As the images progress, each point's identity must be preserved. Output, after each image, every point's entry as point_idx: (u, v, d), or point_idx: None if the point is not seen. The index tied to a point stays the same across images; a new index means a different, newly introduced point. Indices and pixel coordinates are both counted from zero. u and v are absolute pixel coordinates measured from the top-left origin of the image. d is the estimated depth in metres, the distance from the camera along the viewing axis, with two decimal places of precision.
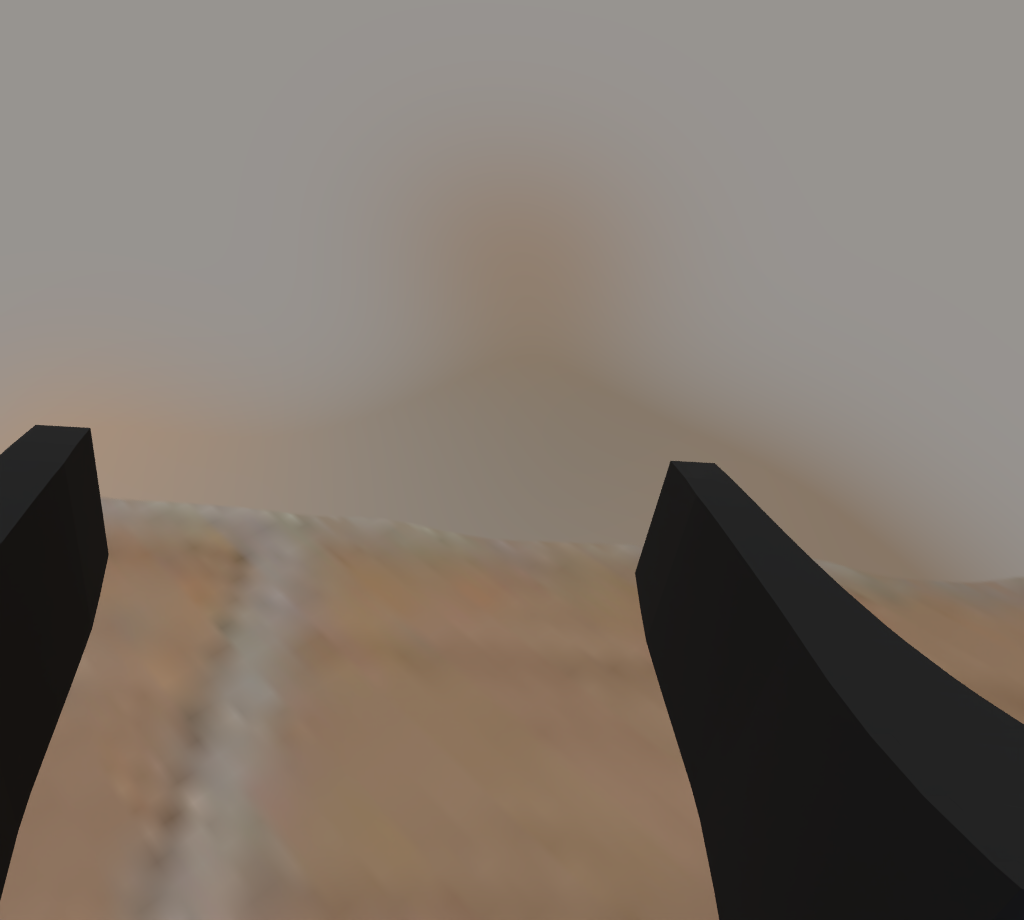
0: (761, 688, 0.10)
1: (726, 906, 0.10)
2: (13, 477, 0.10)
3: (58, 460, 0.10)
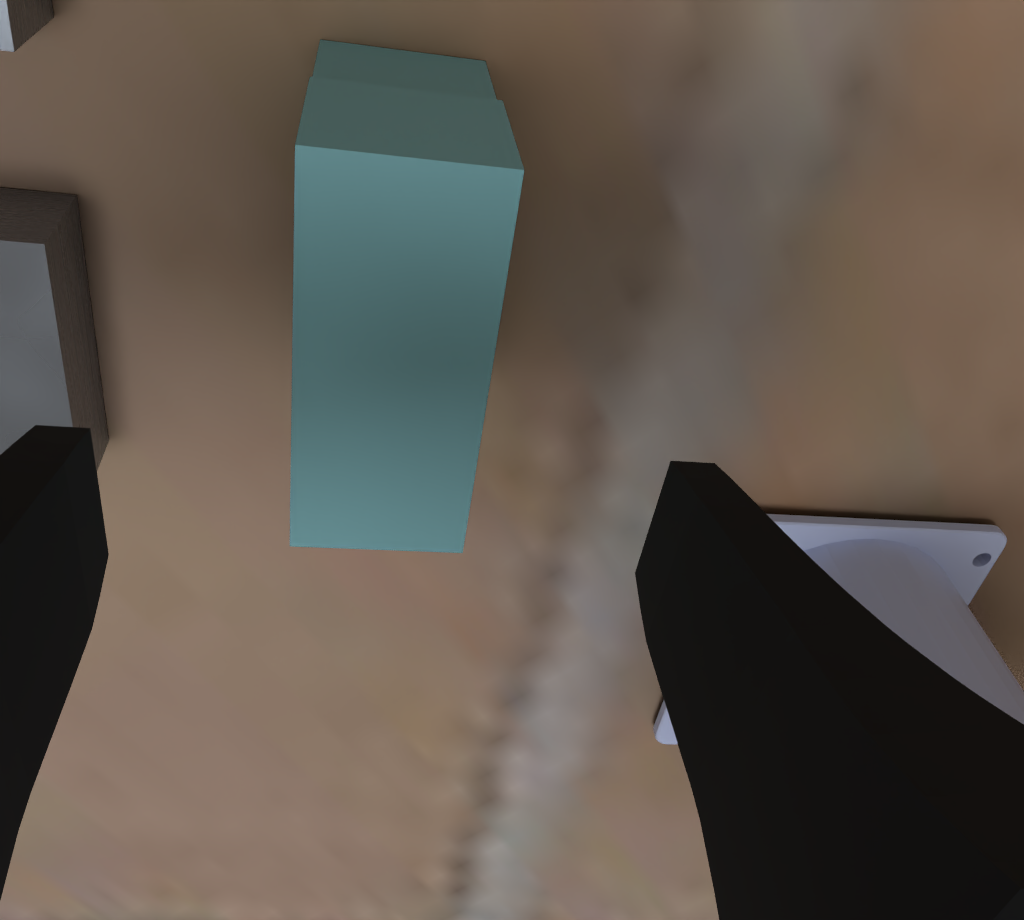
0: (761, 688, 0.10)
1: (726, 906, 0.10)
2: (13, 477, 0.10)
3: (58, 460, 0.10)
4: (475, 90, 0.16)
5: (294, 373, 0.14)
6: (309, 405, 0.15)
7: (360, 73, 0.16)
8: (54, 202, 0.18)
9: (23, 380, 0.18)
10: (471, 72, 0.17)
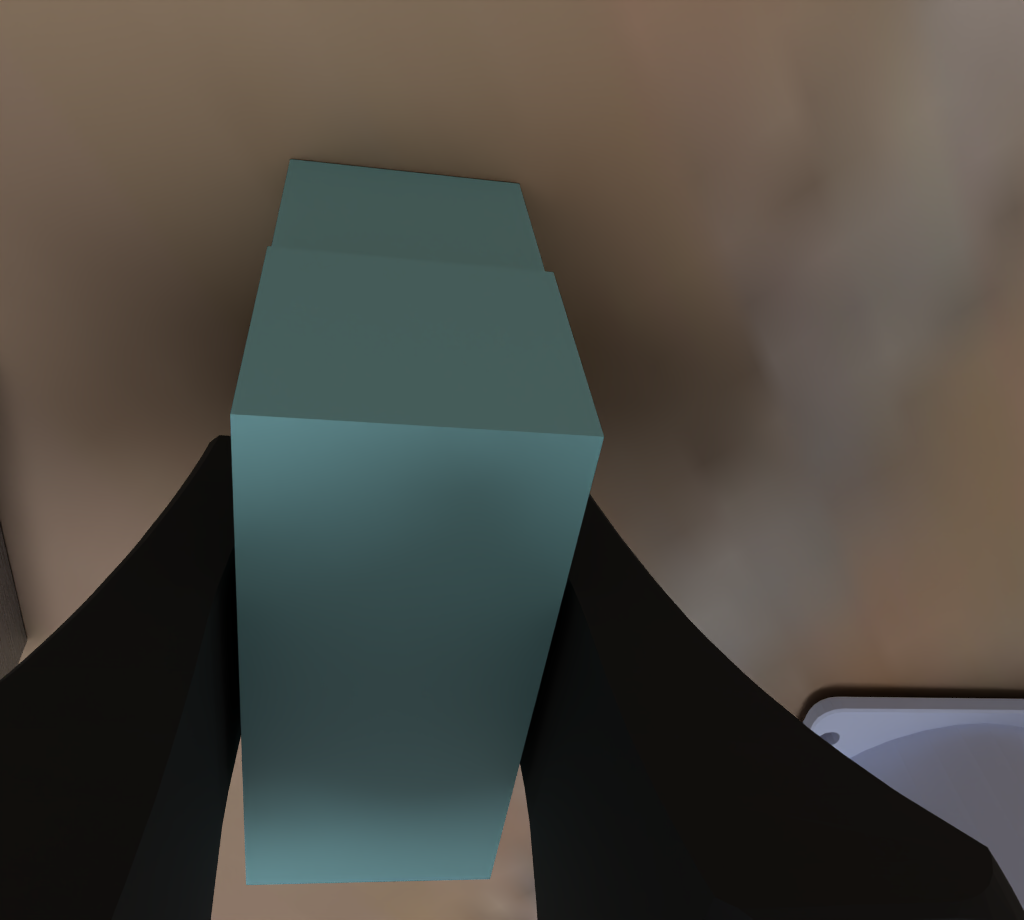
0: (567, 685, 0.09)
1: (542, 911, 0.10)
2: (220, 487, 0.10)
3: None
4: (510, 243, 0.11)
5: (243, 699, 0.09)
6: (267, 735, 0.10)
7: (345, 222, 0.11)
8: None
9: None
10: (502, 207, 0.12)
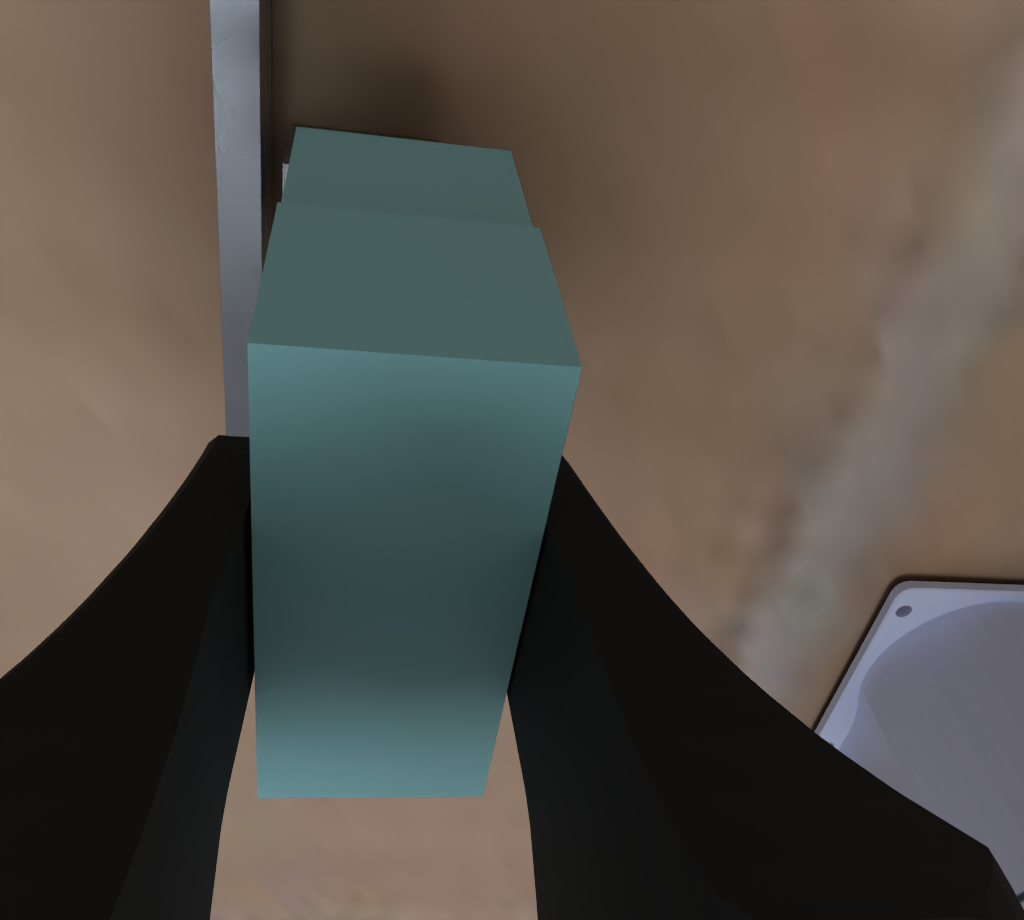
0: (567, 685, 0.09)
1: (542, 911, 0.10)
2: (219, 487, 0.10)
3: None
4: (501, 203, 0.12)
5: (257, 615, 0.10)
6: (279, 650, 0.11)
7: (348, 183, 0.12)
8: None
9: None
10: (494, 171, 0.13)
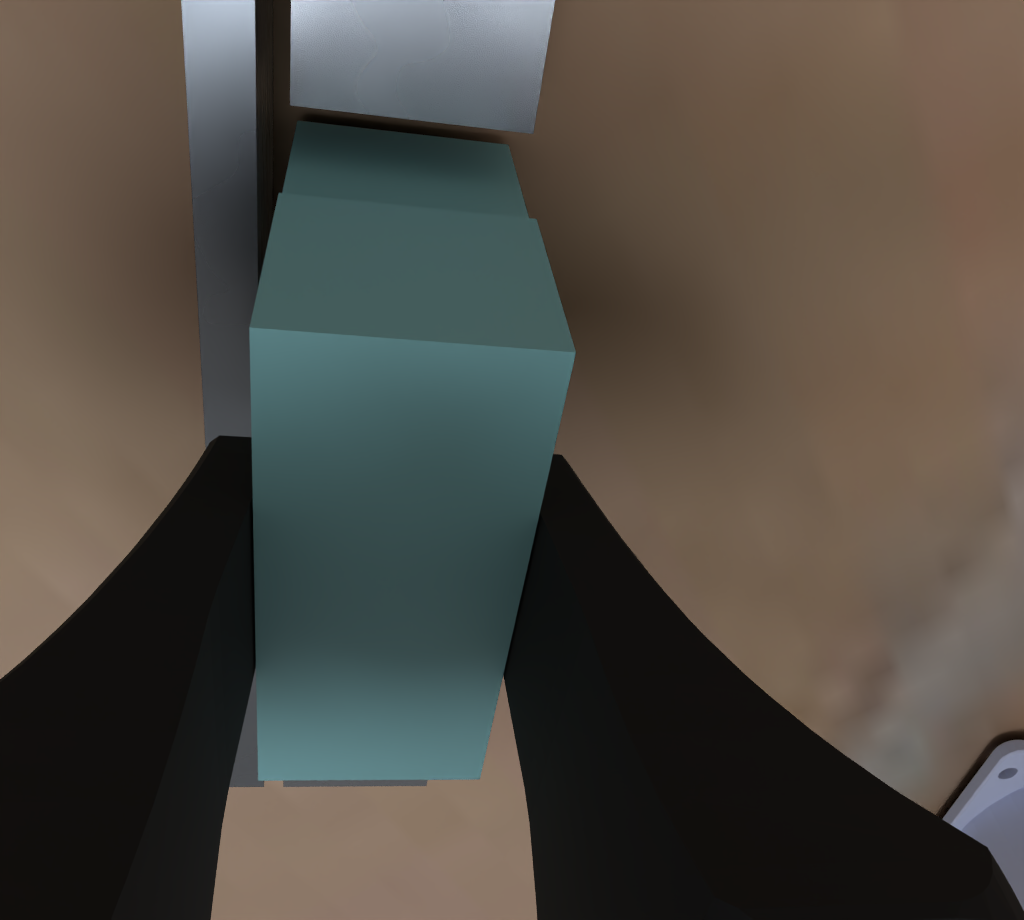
0: (567, 685, 0.09)
1: (541, 911, 0.10)
2: (220, 487, 0.10)
3: None
4: (498, 195, 0.12)
5: (258, 597, 0.11)
6: (279, 633, 0.11)
7: (348, 175, 0.12)
8: None
9: None
10: (491, 165, 0.13)
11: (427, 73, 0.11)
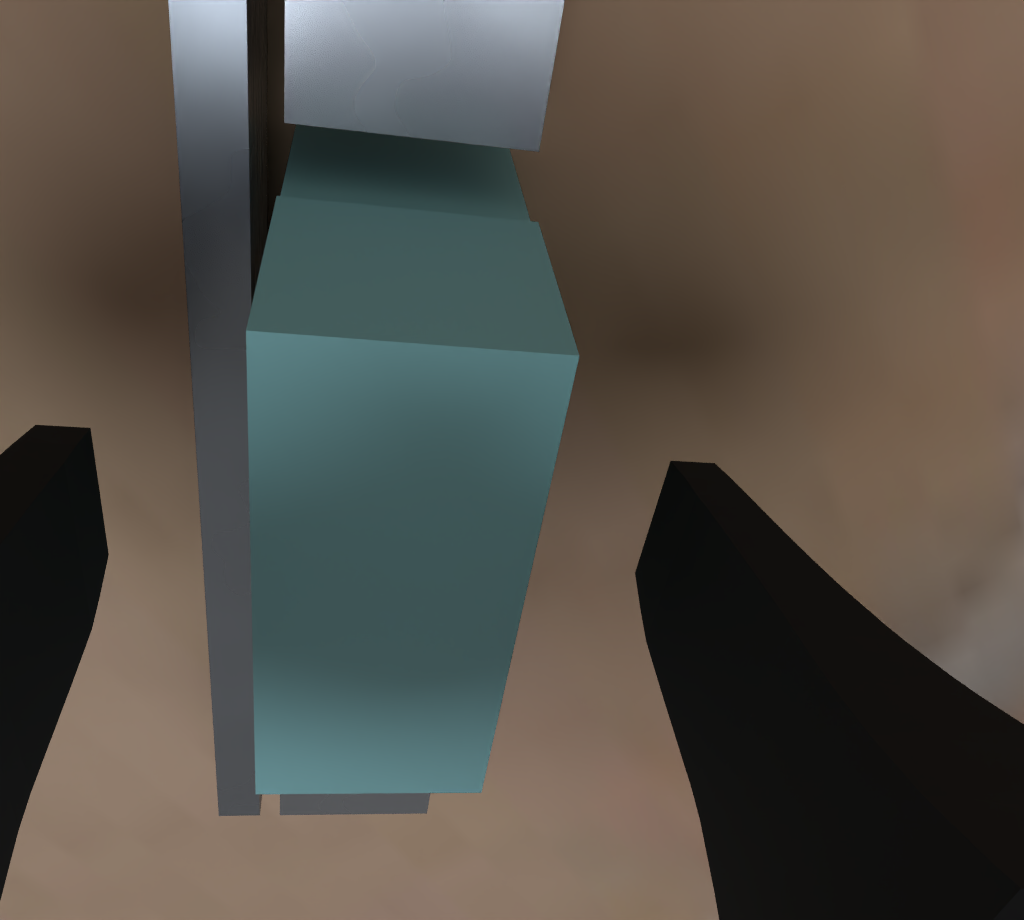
0: (761, 688, 0.10)
1: (726, 906, 0.10)
2: (13, 477, 0.10)
3: (58, 460, 0.10)
4: (499, 199, 0.12)
5: (255, 607, 0.10)
6: (276, 642, 0.11)
7: (347, 179, 0.12)
8: None
9: None
10: (492, 168, 0.13)
11: (428, 89, 0.11)
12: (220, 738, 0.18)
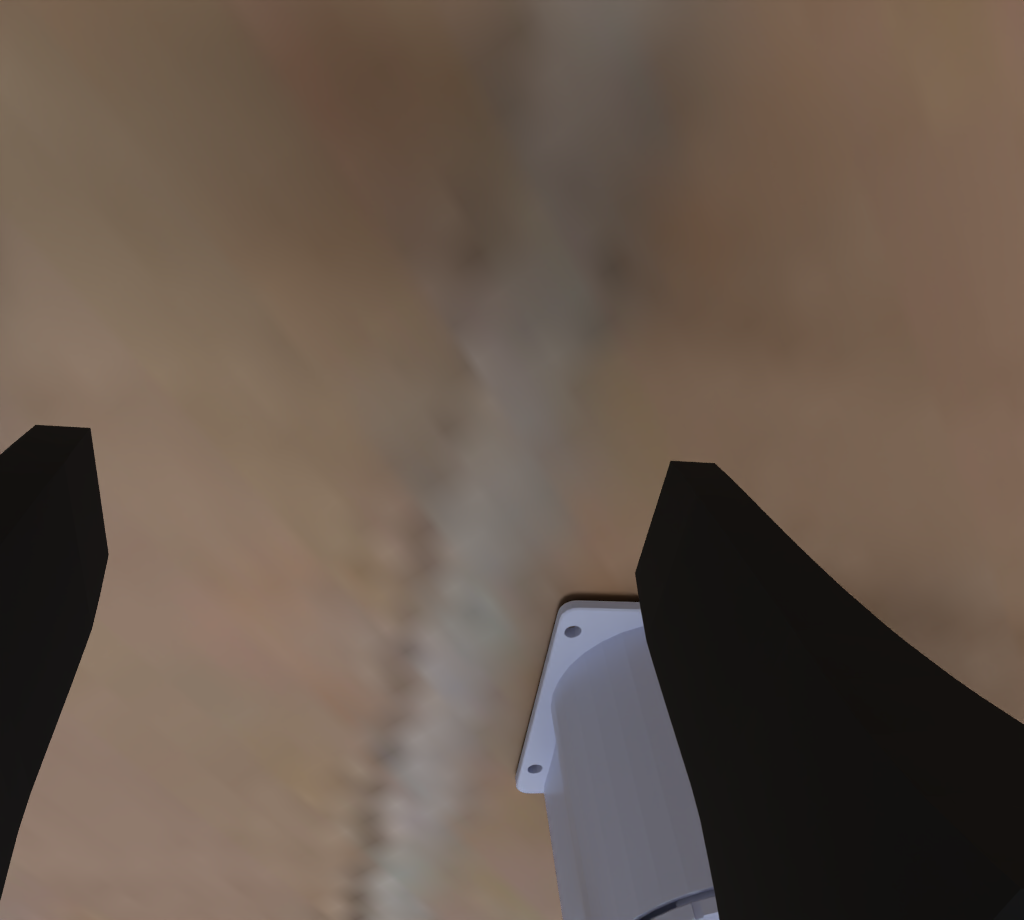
0: (761, 688, 0.10)
1: (726, 906, 0.10)
2: (13, 477, 0.10)
3: (58, 460, 0.10)
4: None
5: None
6: None
7: None
8: None
9: None
10: None
11: None
12: None
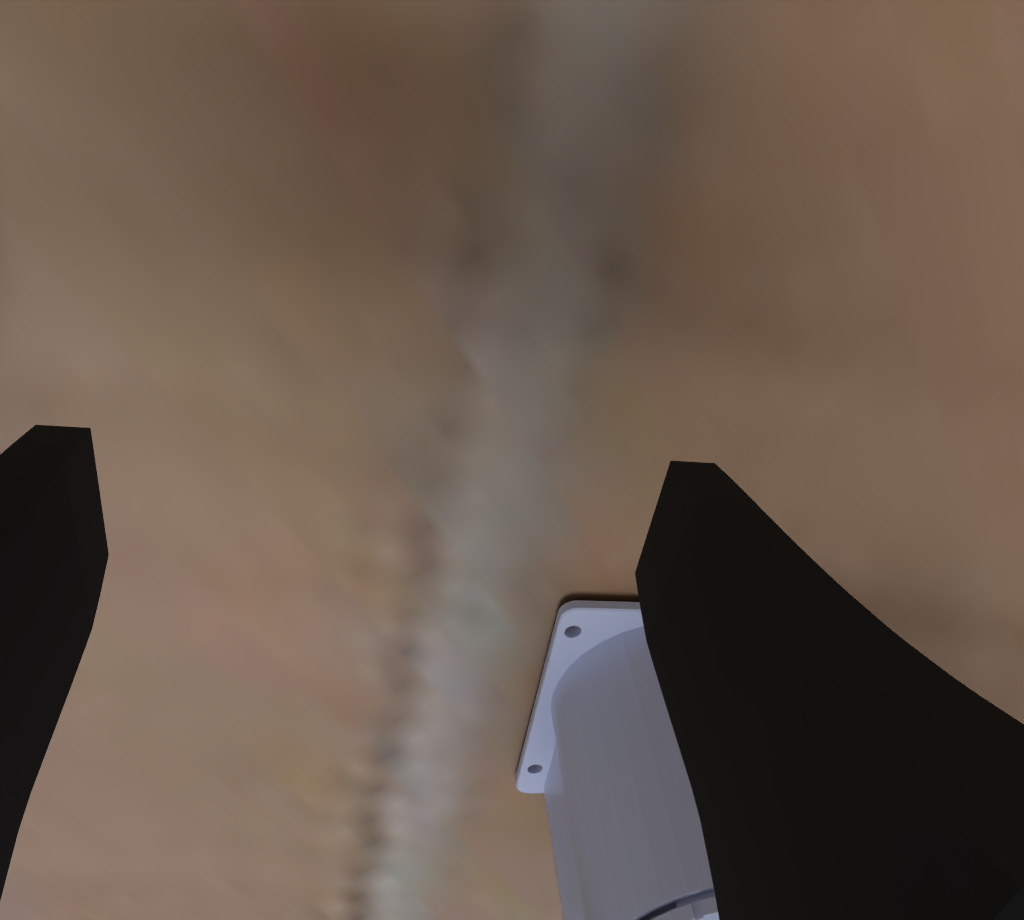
0: (761, 688, 0.10)
1: (726, 906, 0.10)
2: (13, 477, 0.10)
3: (58, 460, 0.10)
4: None
5: None
6: None
7: None
8: None
9: None
10: None
11: None
12: None
